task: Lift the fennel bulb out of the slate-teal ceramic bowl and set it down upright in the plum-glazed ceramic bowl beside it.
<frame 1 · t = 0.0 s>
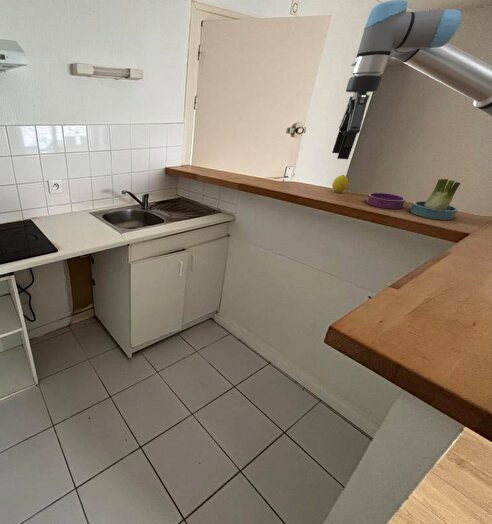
hand: (339, 156, 89), 20 cm above the worktop, tool pointing down, fingers open, 13 cm apart
teal bowl: (430, 215, 99), on the worktop
lemon: (336, 193, 124), on the worktop
fennel bulb: (430, 214, 98), resting on teal bowl
plum bowl: (383, 205, 109), on the worktop
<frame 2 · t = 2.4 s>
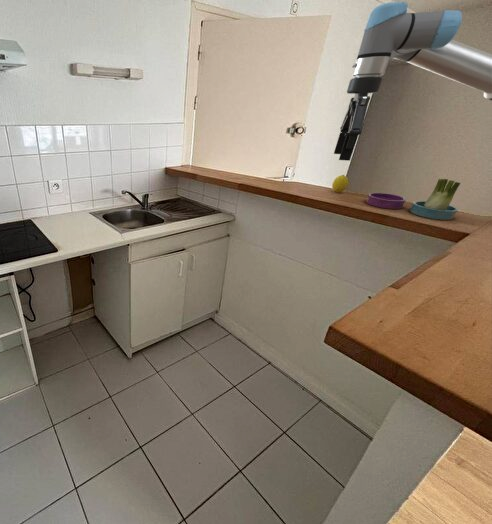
hand: (341, 157, 89), 20 cm above the worktop, tool pointing down, fingers open, 13 cm apart
nothing on the worktop moved.
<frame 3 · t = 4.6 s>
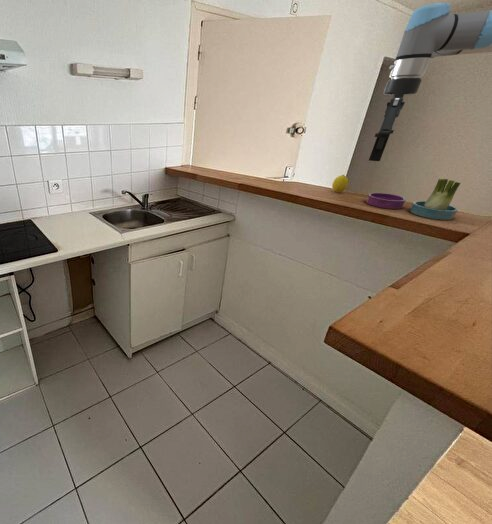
hand: (375, 157, 89), 19 cm above the worktop, tool pointing down, fingers open, 13 cm apart
nothing on the worktop moved.
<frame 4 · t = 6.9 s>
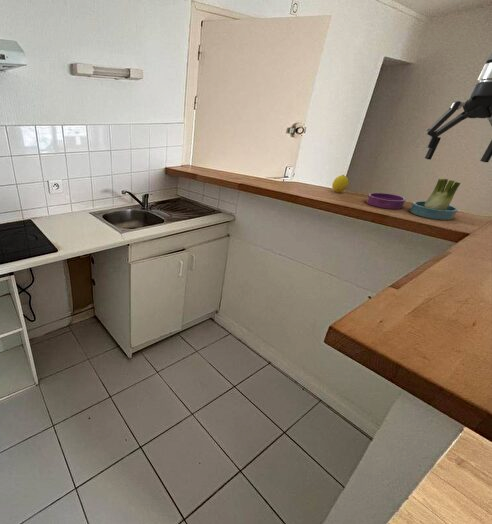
hand: (454, 160, 90), 18 cm above the worktop, tool pointing down, fingers open, 13 cm apart
nothing on the worktop moved.
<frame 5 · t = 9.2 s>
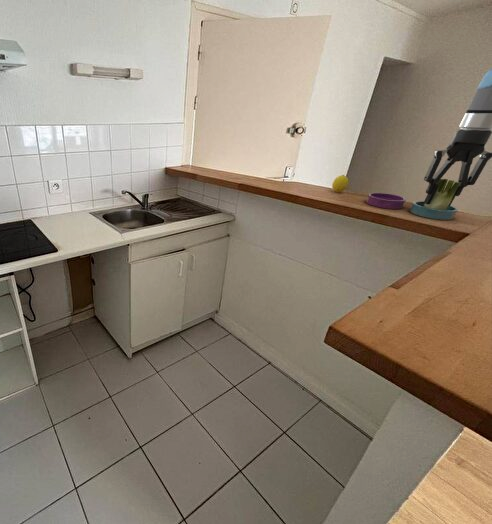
hand: (436, 203, 96), 4 cm above the worktop, tool pointing down, fingers closed on fennel bulb, 5 cm apart
fennel bulb: (430, 214, 98), resting on teal bowl, touching gripper
everything else where it was.
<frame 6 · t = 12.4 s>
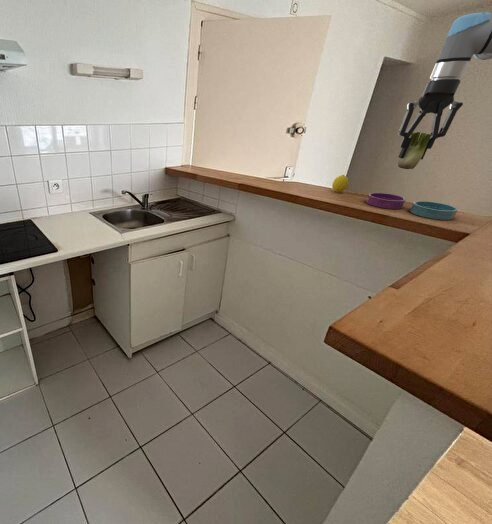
hand: (410, 158, 99), 18 cm above the worktop, tool pointing down, fingers closed on fennel bulb, 5 cm apart
fennel bulb: (404, 169, 101), point 14 cm above the worktop, touching gripper
everything else where it was.
when the fingers open (4 cm above the worktop, at t = 15.8 s): fennel bulb stays where it is, resting on plum bowl.
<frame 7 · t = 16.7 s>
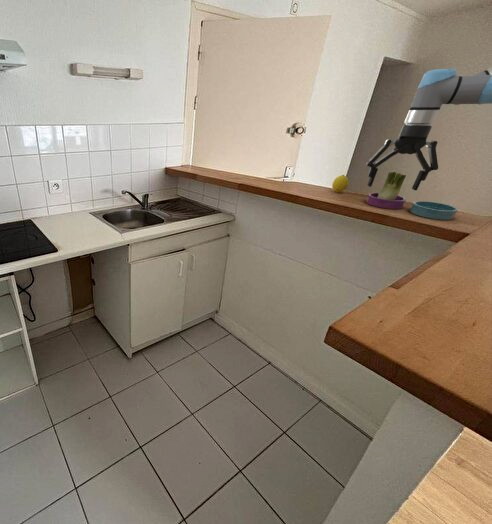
hand: (391, 187, 105), 7 cm above the worktop, tool pointing down, fingers open, 13 cm apart
fennel bulb: (383, 204, 108), resting on plum bowl
everything else where it was.
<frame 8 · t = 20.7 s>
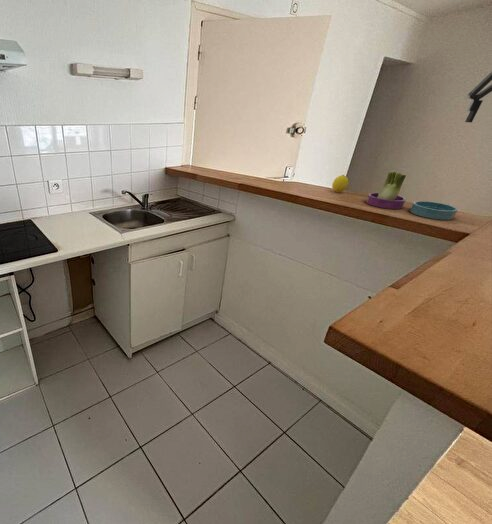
nothing on the worktop moved.
at the end: fennel bulb inside the target area in the plum bowl (0.1 cm from its centre), point 0.3 cm above the plum bowl's base; fennel bulb tilted 0°; the gripper is holding nothing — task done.
